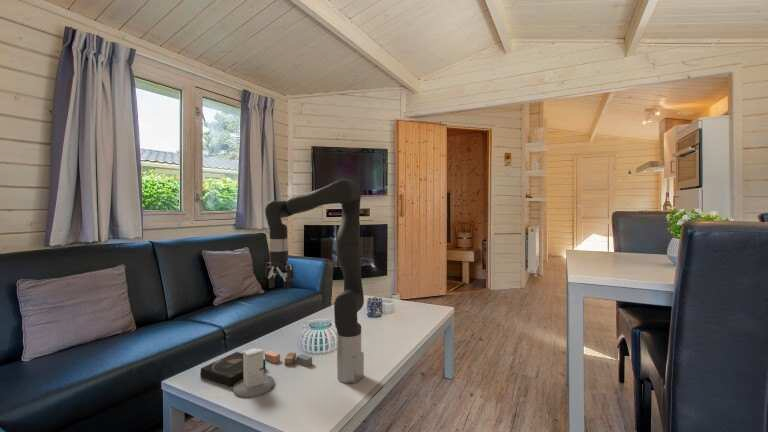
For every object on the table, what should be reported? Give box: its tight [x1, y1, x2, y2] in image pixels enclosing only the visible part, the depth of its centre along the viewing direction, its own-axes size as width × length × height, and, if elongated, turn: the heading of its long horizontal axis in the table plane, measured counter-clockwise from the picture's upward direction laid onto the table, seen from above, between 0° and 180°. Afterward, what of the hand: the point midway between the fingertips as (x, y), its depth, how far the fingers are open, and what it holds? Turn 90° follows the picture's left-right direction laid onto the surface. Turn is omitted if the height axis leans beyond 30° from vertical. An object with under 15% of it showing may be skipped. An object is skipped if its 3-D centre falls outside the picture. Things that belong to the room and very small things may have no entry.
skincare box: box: [242, 347, 264, 388], centre depth 127 cm, size 6×4×12 cm
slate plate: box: [232, 374, 275, 398], centre depth 127 cm, size 14×14×1 cm
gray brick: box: [296, 353, 313, 368], centre depth 145 cm, size 6×3×3 cm, turn 56°
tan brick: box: [284, 351, 297, 366], centre depth 147 cm, size 6×3×3 cm, turn 178°
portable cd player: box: [199, 351, 266, 388], centre depth 137 cm, size 16×17×4 cm
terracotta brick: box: [264, 350, 281, 364], centre depth 148 cm, size 6×3×3 cm, turn 57°
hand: (279, 288), depth 144 cm, fingers open, 8 cm apart
